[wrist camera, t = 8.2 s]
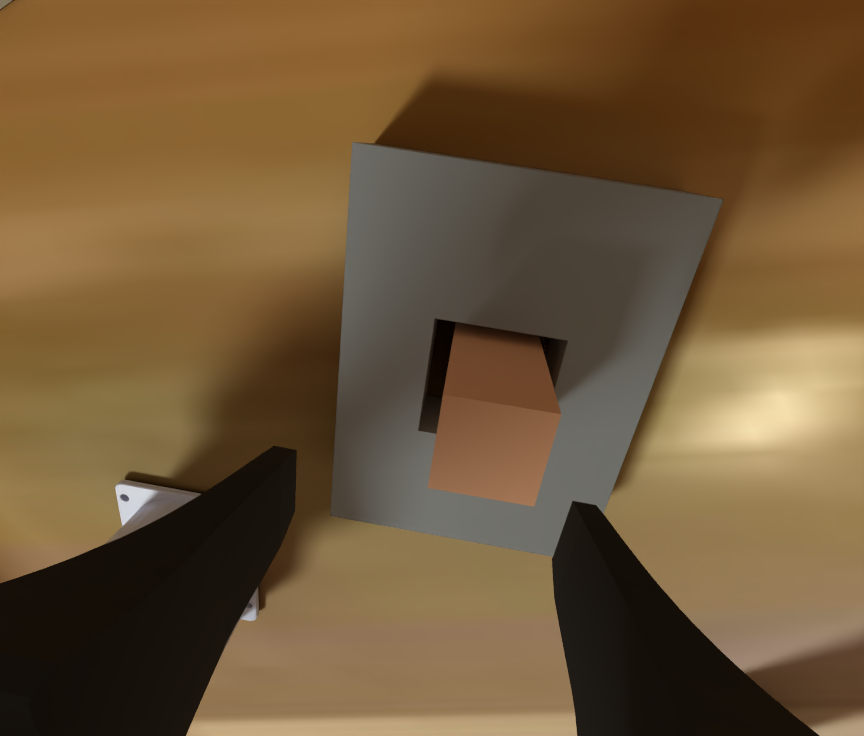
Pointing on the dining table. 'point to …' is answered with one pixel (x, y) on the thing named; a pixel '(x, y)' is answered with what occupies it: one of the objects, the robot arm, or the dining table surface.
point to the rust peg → (495, 416)
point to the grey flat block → (501, 325)
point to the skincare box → (4, 3)
